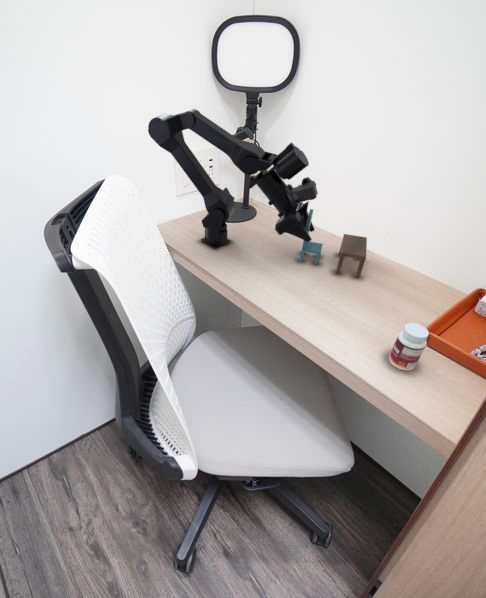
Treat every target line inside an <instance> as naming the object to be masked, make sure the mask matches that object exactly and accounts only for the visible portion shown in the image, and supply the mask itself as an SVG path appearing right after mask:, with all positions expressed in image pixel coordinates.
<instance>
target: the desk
mask: <svg viewBox="0 0 486 598" xmlns="http://www.w3.org/2000/svg"><path fill="white" fill-rule="evenodd" d="M367 243H368V238H367V237H366V236H360V235H354V234H348V233H347V234H346V233H344V234H343V236H342V240H341V244H340V247H339V252H338V257H339V259H338V262H337V266H336V270H335V275H340V274H341V270H342V267H343V263H344V260H345V257H346V258H351V259H356V260H359V263H358V267H357V269H356V272H355V279H356V278H357V279H360V277H361V274H362V272H363V268H364V265H365V261H366V258H367V245H368V244H367Z"/></svg>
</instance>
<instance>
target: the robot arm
mask: <svg viewBox="0 0 486 598" xmlns="http://www.w3.org/2000/svg"><path fill="white" fill-rule="evenodd" d="M185 130H190V131H192V132H193V133H194V134H196V135H198V136H199V137H200V138H202V139H203V140H205V141H207V142H208V143H209V144H210V145H212V146H214V147H215V148H217V149H218V150H220V151H221V152H222V153H224V154H225V155H226V156H227V157H228V158H229V159H230V160H231V162H232V163H233V164H234V166H235V167H236V168H238V170H239V171H241V172H242V173H243V174H245V175H247V176H249V178H248V179H249V183H248V189H252V188H253V187H254V186H257V187H258V188H259V190H260V191H261V192H262V193H263V195H264V197H266V198H267V200H268V202H267V204H268V205H269V206H270V207H272V206H273V207H274V208H275V210H276V211H277V212H278V214H277V217H278V219H277V221H276V223H275V226H274V230H275V232H276V233H277V234H278V235H279V236H282V235H283V234H285V233H286V234H288V235H291V236H294V237H295V238H298V239H300V240H302V241H304V240H305V241H307V242H312V237H311V235H310V232H311V233H313V232H314V231H315V227H314V224H313V221H311V225H310V230H309V233H308V232H307V230H306V224H307V219H308V214H309V211H308V209H309V205H310V204H309V203H310V202H309V201H314V200H315V199H316V198H317V196H318V189H317V183H316V181H315V180H312V179H311V178H310V177H309V176H307V177H304V178H302V179H301V183H300V184H298V185H297V186H294V187H293V185H292V184H290V183H288V184H287V183H286V182H285V181H284V180H292V178H294V177H295V176H297V175H298V174H299V173H301V172H302V171H303V170H305V169H306V168H308V167H309V165H310V163H309V159H308V158H307V155H306V154H305V153H304V151H303V150H301V149H300V148H299V147H298V146H296V145H295V144H294V143H293V142H290V143H289V144H287V145H286V147H285V148H284V149H282V151H280V152H279V153H278V154H276V153H273V152H269V151H265V149H264V148H262V147H261V146H259V145H257V144H254V143H252V142H250V141H246V140H242V139H240V138H237V137H236V136H235V135H233V134H231V133H230V132H229V131H227V130H225V129H224V128H223V127H221V126H220V125H218V124H217V123H216V122H214V121H212V120H211V119H209V117H206V115H204V114H202V113H201V112H200V111H199V110H198V109H196V108H191V109H189V110H187V111H184V112H181V113H177V114H172V113H167V112H166V113H163V114H159V115H158V116H155V117H153V118H151V119H150V121H149V122H148V126H147V132H148V135H149V137H150V138H151V139H152V140H153V141H154V143H156V144H157V145H158V146H159V147H160V148H161V149H163V150H164V151H166V152H168V153H169V154H170V155H171V156H172V157H173V158H174V160H175V161H176V162H177V163H178V165H179V166H180V168H181V169H182V171H183V172H184V173H185V175H186V177H187V178H188V179H189V180H190V182H191V183H192V184H193V186H194V187H195V188H196V190H197V191H198V193H199V194H200V195H201V197H202V199H203V202H204V206H205V209H206V211H207V214H206V215H205V216H204V217H203V218H202V220H201V225H202V227H203V228H204V237H203V238H201V239H200V242H201V243H203V244H205V245H207V246H209V247H211V248H213V249H219V248H220V247H223V246H224V245H227V244H229V243H231V240H230V239H229V238H228V224H227V223H226V222H227V221H228V220H229V219H230V218H231V216H232V215H233V214H234V212H235V210H236V206H237V204H236V202H235V199H236V198H235V197H234V196H233V195H232V194H231V192H230V190H229V188H228V187H224V188H223V189H222V188H220V187H218V186H217V184H215V182H214V181H213V179H212V178H211V177H210V175H209V174H208V172H207V171H206V169H205V168H204V166H203V165H202V164H201V163H200V161H199V160H198V158H197V157H196V156H195V154H194V153H193V152H192V149H190V147H189V145H188V144H187V142H186V141H185V137H184V133H183V131H185ZM255 174H256V175H255Z"/></svg>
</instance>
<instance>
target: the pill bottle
mask: <svg viewBox="0 0 486 598" xmlns="http://www.w3.org/2000/svg"><path fill="white" fill-rule="evenodd" d="M429 335H430V332H429V330H428V329H427V327H425V326H423V325H422V324H420V323H416V322H408V323H406V324H405V325H404V327H403V329H402V330H401V331H400V332H399V333H398V335H397V337H396V339H395V341H394V344H393V345H392V348H391V351H390V353H389V356H388V361H389V362H390V364H391V365H393V366H394V367H395V368H397V369H399V370H402V371H412V370H413V369H415V367H416V366H417V364H418V362H419V360H420V359H421V356H422V354H423V352H424V350H425V349H426V347H427V343H428V341H427V339H428V337H429Z"/></svg>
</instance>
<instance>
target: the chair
mask: <svg viewBox="0 0 486 598" xmlns="http://www.w3.org/2000/svg"><path fill="white" fill-rule="evenodd" d="M313 213H314V208H313V209H312V208H309V211H308V219H307V224H306V230H307V232H308V233H309V234H310V231H309V230H310V225H311V222H312V219H313V215H314V214H313ZM302 241H303V242H302V246H301V251H300V256H299V257H300V258H299V262H301V263H303V262H304V257H305V255H306V253H308V254H309V253H310V254H315V255H316V258H315V263H314V265H317V266H318V265H319V262H320V258H321V254H322V250H323V245H324V244H323V243H320V242H315V241H309V242H307V241H305V240H302Z"/></svg>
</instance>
